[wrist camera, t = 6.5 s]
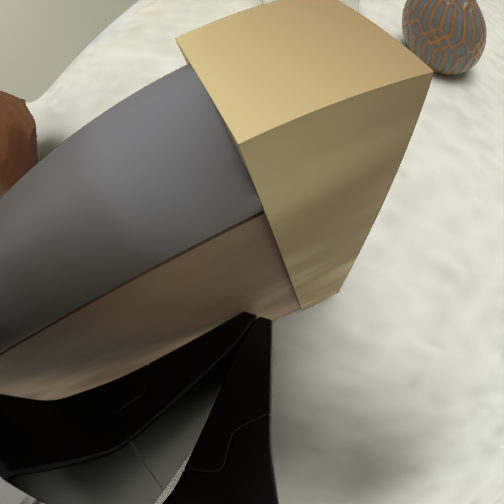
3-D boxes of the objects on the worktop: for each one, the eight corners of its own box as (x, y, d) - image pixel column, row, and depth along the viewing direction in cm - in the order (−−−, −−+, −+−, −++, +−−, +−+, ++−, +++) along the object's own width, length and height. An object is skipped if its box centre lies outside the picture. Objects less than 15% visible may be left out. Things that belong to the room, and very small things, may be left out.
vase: (381, 43, 19) (387, -43, 11) (432, 34, 19) (445, -39, 10) (438, 95, 17) (467, 0, 8) (485, 80, 16) (515, 5, 8)
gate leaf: (82, 399, 14) (-106, 405, 3) (72, 370, 15) (-113, 356, 3) (338, 292, 13) (433, 71, 2) (319, 257, 14) (320, -10, 2)
